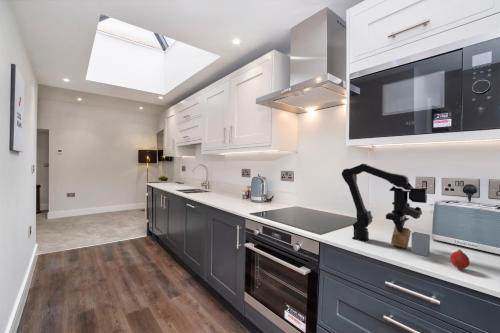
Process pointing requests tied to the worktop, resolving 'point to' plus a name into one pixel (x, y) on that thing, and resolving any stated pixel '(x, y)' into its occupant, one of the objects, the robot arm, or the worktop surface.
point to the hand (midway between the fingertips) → (399, 232)
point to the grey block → (420, 244)
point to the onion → (459, 260)
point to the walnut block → (401, 237)
